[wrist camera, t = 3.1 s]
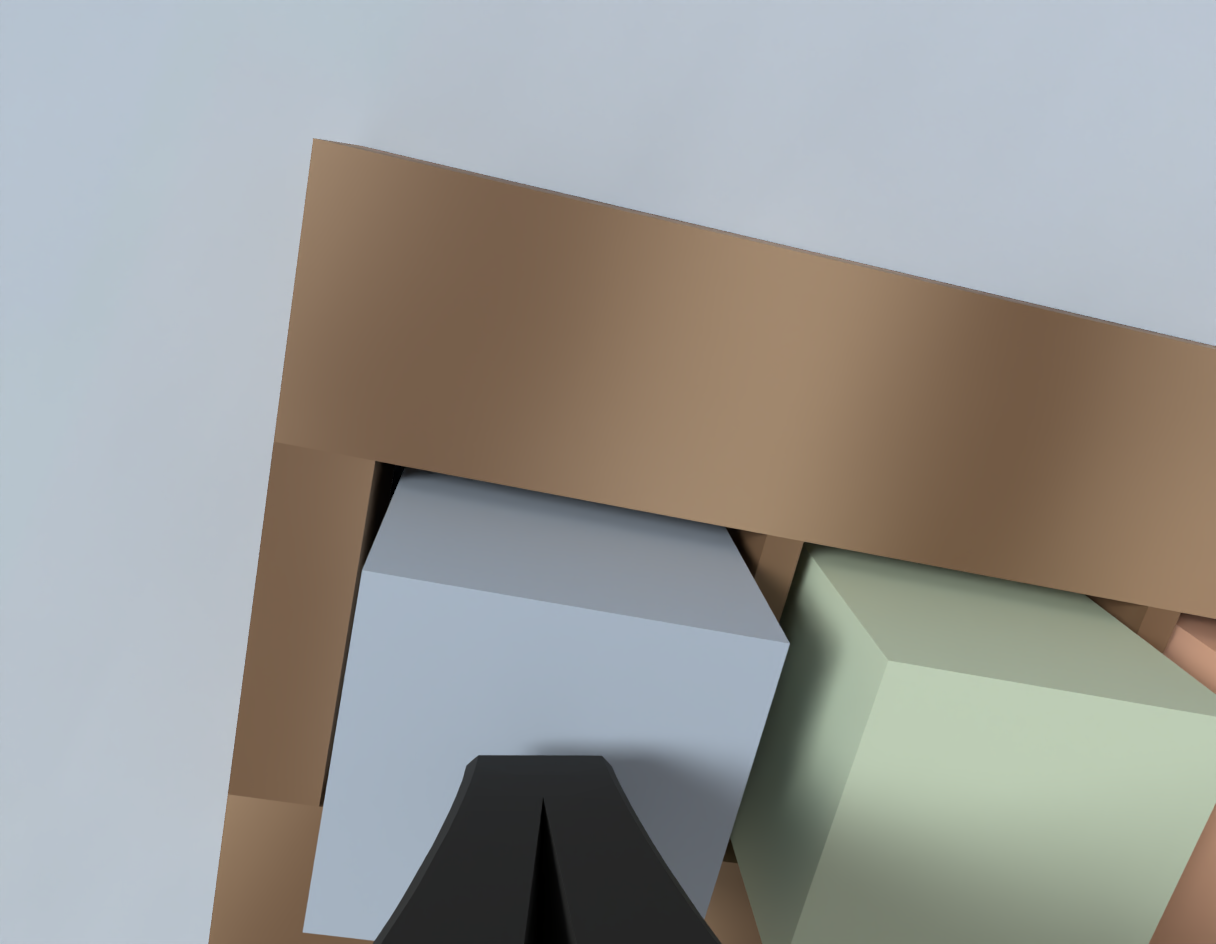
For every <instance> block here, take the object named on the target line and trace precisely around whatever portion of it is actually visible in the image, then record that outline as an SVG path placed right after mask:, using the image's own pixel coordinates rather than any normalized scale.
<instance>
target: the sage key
mask: <svg viewBox="0 0 1216 944" xmlns="http://www.w3.org/2000/svg"><path fill="white" fill-rule="evenodd" d="M779 625H780V627H781V628H782V630H783V632H784V634H785V636H786V637H787V639H788V641H789V643H790V645H789V648H788V651H787V655H786V658H785V661H784V664H783V668H782V671H781V674H780V677H779V680H778V684H777V687H776V690H775V693H774V697H773V700H772V703H771V706H770V709H769V713H768V716H767V719H766V722H765V726H764V729H763V732H762V735H761V738H760V742H759V745H758V748H757V751H756V755H755V758H754V761H753V764H752V767H751V771H750V774H749V777H748V780H747V784H746V787H745V790H744V793H743V796H742V800H741V803H740V806H739V809H738V813H737V816H736V819H735V822H734V825H733V829H732V832H731V835H730V839H731V842H732V845H733V849H734V852H735V855H736V859H737V862H738V865H739V868H740V872H741V875H742V878H743V882H744V885H745V888H746V892H747V895H748V898H749V901H750V905H751V908H752V911H753V915H754V918H755V921H756V924H757V928H758V931H759V934H760V938H761V941H762V944H1149V942H1150V940H1151V938H1152V936H1153V934H1154V932H1155V929H1156V927H1157V925H1158V923H1159V921H1160V919H1161V917H1162V915H1163V913H1164V911H1165V909H1166V906H1167V904H1168V902H1169V900H1170V898H1171V896H1172V894H1173V892H1174V890H1175V888H1176V885H1177V883H1178V881H1179V879H1180V877H1181V875H1182V873H1183V871H1184V869H1185V867H1186V865H1187V862H1188V860H1189V858H1190V856H1191V854H1192V852H1193V850H1194V848H1195V846H1196V844H1197V841H1198V839H1199V837H1200V835H1201V833H1202V831H1203V829H1204V827H1205V825H1206V823H1207V820H1208V818H1209V816H1210V814H1211V812H1212V810H1213V808H1214V806H1215V804H1216V694H1215V693H1213V692H1212V691H1211V690H1209V689H1208V688H1207V687H1206V686H1204V685H1203V684H1202V683H1200V682H1199V681H1198V680H1196V679H1195V678H1194V677H1192V676H1191V675H1190V674H1188V673H1187V672H1186V671H1184V670H1183V669H1182V668H1180V667H1179V666H1178V665H1177V664H1175V663H1174V662H1173V661H1171V660H1170V659H1169V658H1167V657H1166V656H1165V655H1163V654H1162V653H1161V652H1159V651H1158V650H1157V649H1155V648H1154V647H1153V646H1152V645H1150V644H1149V643H1148V642H1146V641H1145V640H1144V639H1142V638H1141V637H1140V636H1138V635H1137V634H1136V633H1134V632H1133V631H1132V630H1130V629H1129V628H1128V627H1126V626H1125V625H1124V624H1123V623H1121V622H1120V621H1119V620H1117V619H1116V618H1115V617H1113V616H1112V615H1111V614H1109V613H1108V612H1107V611H1105V610H1104V609H1103V608H1101V607H1100V606H1099V605H1098V604H1096V603H1095V602H1094V601H1092V600H1091V599H1090V598H1088V597H1087V596H1086V595H1084V594H1079V593H1074V592H1069V591H1063V590H1058V589H1053V588H1047V587H1042V586H1037V585H1031V584H1026V583H1021V582H1016V581H1010V580H1005V579H1000V578H994V577H989V576H984V575H978V574H973V573H968V572H962V571H957V570H952V569H946V568H941V567H936V566H930V565H925V564H920V563H915V562H909V561H904V560H899V559H893V558H888V557H883V556H877V555H872V554H867V553H861V552H856V551H851V550H845V549H840V548H835V547H829V546H824V545H819V544H814V543H808V542H804V543H803V546H802V549H801V553H800V556H799V559H798V562H797V566H796V569H795V572H794V576H793V579H792V582H791V585H790V589H789V592H788V595H787V599H786V602H785V605H784V608H783V612H782V615H781V618H780V622H779Z"/></svg>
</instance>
